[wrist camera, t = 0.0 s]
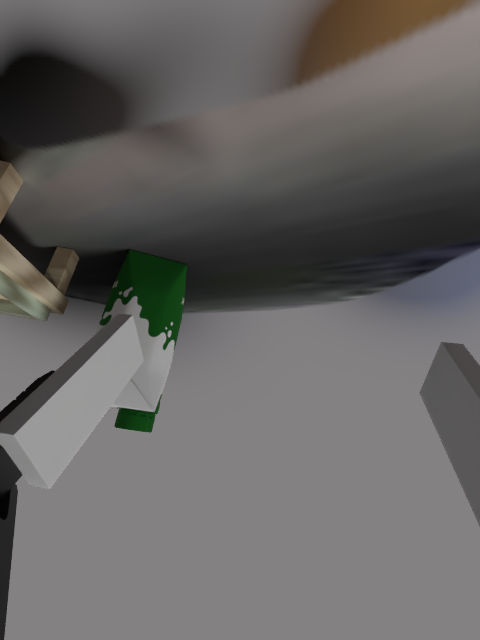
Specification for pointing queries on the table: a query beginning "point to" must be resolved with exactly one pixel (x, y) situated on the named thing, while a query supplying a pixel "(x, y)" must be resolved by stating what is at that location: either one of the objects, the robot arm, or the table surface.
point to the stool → (30, 267)
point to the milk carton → (147, 330)
